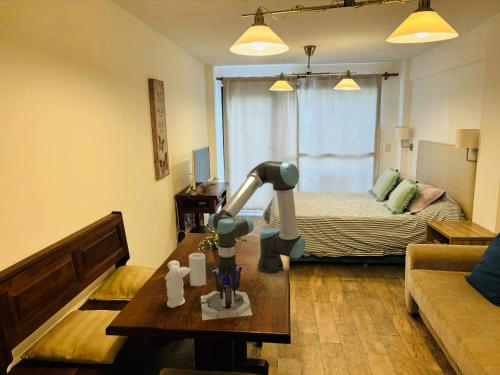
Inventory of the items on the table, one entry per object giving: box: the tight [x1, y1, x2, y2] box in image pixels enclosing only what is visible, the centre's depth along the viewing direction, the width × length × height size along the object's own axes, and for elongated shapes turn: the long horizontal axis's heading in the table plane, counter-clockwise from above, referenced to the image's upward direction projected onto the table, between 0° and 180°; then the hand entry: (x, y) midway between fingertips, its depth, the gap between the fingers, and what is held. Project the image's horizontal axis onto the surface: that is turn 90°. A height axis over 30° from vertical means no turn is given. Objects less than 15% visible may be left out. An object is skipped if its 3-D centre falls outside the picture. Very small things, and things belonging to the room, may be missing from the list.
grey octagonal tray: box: [199, 290, 253, 321], centre depth 169 cm, size 23×23×3 cm
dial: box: [208, 285, 243, 311], centre depth 168 cm, size 16×16×12 cm
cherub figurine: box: [164, 259, 191, 309], centre depth 171 cm, size 12×12×22 cm
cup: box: [188, 252, 207, 287], centre depth 191 cm, size 8×8×16 cm
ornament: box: [218, 263, 238, 286], centre depth 190 cm, size 11×9×15 cm
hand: (227, 304), depth 163 cm, fingers open, 3 cm apart
